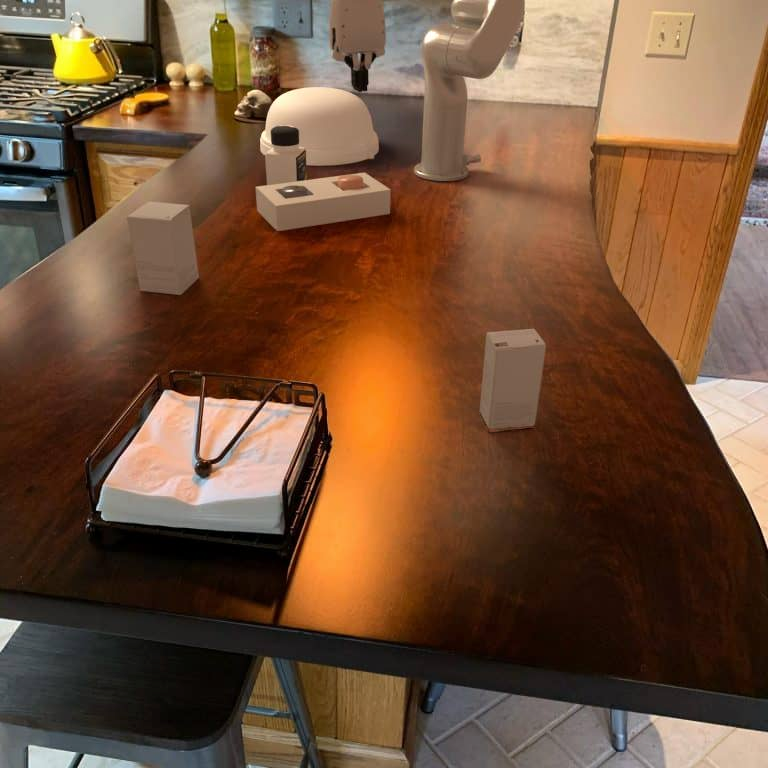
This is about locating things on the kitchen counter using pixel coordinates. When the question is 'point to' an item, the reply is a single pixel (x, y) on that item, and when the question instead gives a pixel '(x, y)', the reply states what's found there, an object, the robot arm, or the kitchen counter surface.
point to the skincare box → (512, 378)
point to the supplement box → (163, 247)
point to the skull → (254, 107)
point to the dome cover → (324, 125)
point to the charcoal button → (294, 191)
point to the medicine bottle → (285, 156)
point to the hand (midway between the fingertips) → (360, 90)
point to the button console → (322, 202)
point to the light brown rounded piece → (350, 182)
